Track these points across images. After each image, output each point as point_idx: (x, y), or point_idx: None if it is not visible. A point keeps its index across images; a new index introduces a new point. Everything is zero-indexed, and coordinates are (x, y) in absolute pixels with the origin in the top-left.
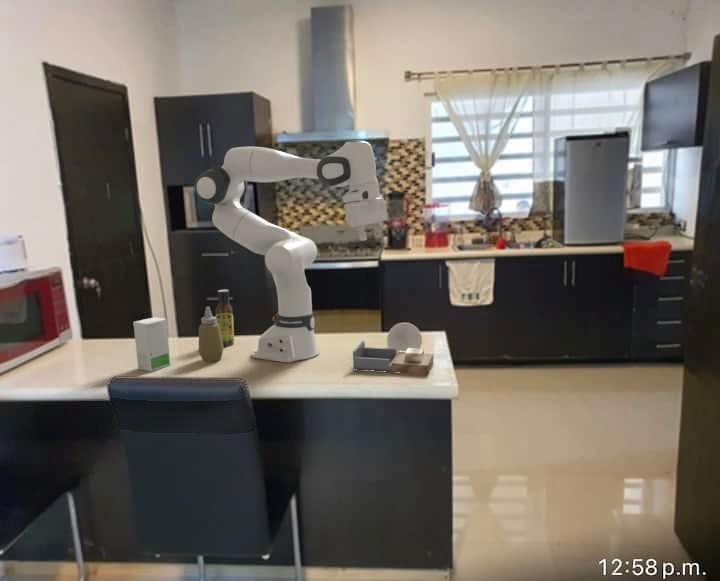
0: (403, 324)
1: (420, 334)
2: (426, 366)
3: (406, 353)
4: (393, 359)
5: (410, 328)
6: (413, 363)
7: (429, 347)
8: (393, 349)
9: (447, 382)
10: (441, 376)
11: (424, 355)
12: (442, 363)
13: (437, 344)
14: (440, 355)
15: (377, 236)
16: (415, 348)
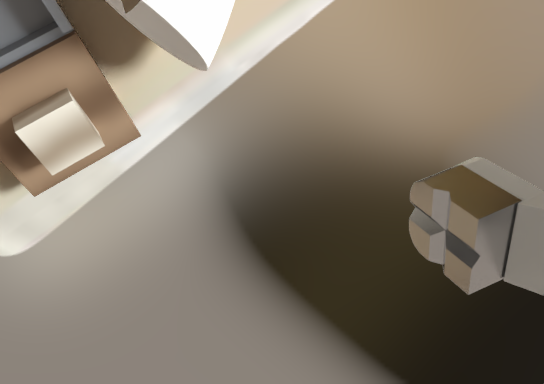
0: (202, 5)
1: (203, 68)
2: (30, 191)
3: (18, 135)
4: (9, 54)
5: (228, 7)
6: (12, 156)
7: (260, 11)
8: (58, 24)
9: (25, 244)
10: (52, 207)
11: (109, 126)
12: (148, 140)
13: (299, 13)
14: (208, 90)
15: (414, 215)
16: (87, 124)
